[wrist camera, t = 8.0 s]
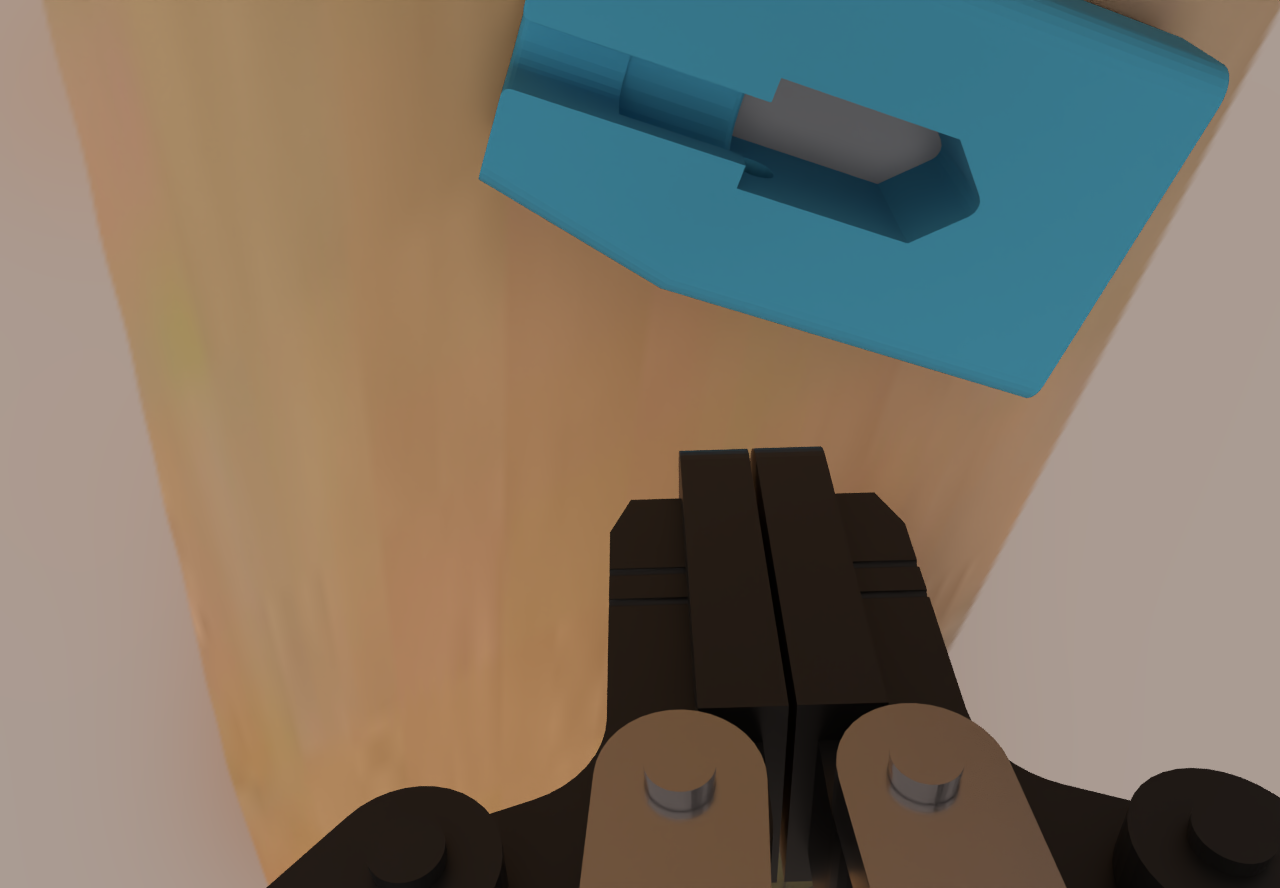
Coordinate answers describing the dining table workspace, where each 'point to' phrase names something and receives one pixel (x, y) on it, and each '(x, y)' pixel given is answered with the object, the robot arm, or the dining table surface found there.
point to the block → (844, 204)
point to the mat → (835, 133)
